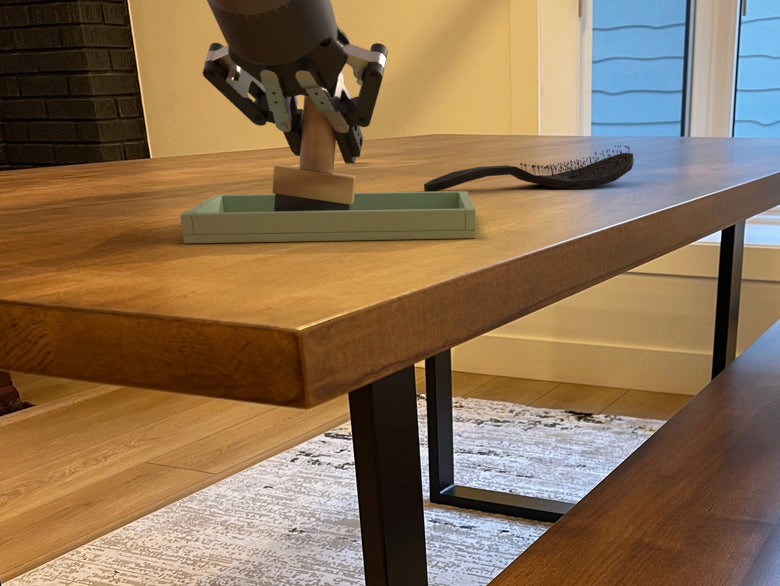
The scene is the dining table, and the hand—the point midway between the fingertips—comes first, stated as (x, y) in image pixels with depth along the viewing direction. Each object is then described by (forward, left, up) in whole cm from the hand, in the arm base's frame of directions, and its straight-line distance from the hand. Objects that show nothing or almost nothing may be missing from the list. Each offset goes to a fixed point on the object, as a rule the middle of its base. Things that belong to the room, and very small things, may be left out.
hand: (330, 153), depth 79 cm
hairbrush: (+19, +30, -6) cm, 36 cm away
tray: (0, -1, -6) cm, 6 cm away
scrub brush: (-2, -3, -5) cm, 5 cm away
